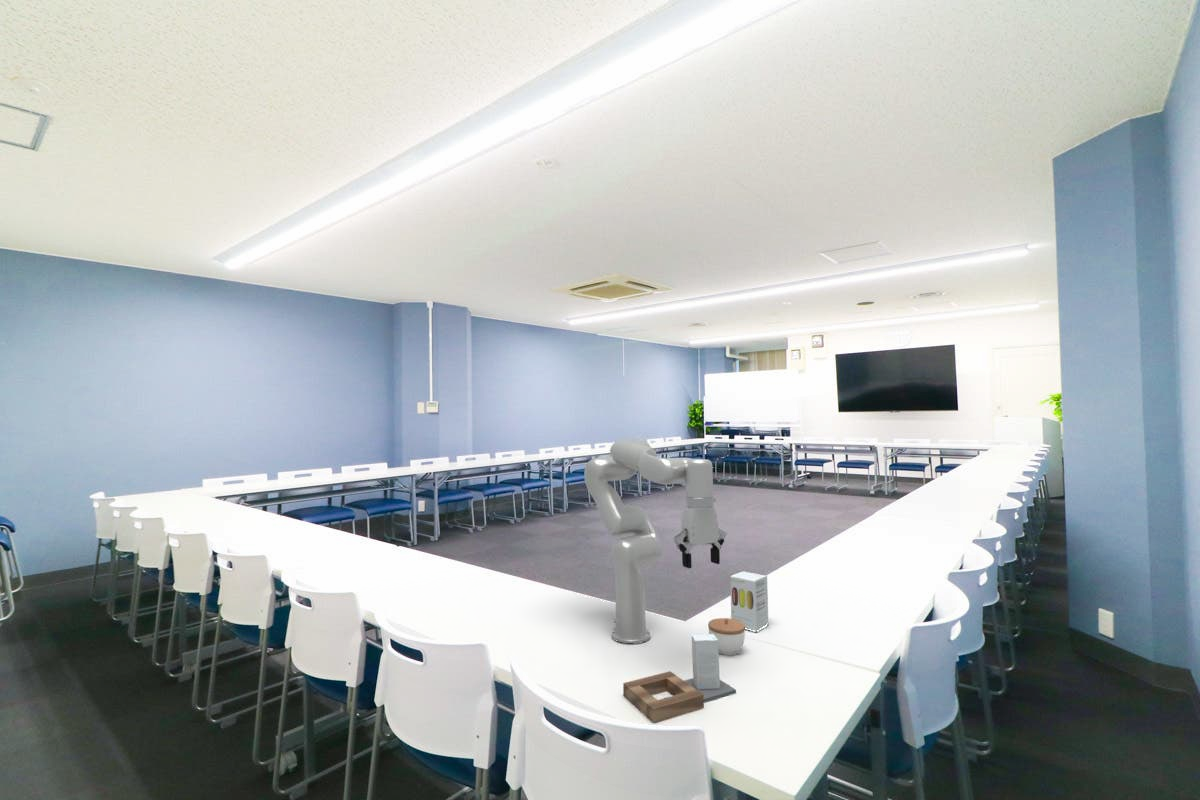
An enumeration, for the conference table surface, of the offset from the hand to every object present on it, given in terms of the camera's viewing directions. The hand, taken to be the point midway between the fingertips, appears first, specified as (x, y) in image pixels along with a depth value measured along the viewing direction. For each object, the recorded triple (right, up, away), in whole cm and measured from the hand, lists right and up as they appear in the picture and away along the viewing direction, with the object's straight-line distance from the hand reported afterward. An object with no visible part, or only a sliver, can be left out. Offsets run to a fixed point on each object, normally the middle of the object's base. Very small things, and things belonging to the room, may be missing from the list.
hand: (701, 565), depth 143 cm
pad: (-1, -27, -13) cm, 30 cm away
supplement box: (+22, -31, +30) cm, 48 cm away
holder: (-13, -27, -19) cm, 35 cm away
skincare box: (-1, -27, -13) cm, 30 cm away
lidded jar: (+10, -29, +10) cm, 33 cm away
